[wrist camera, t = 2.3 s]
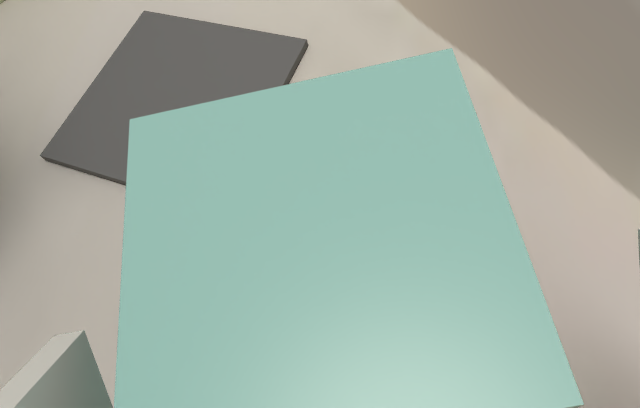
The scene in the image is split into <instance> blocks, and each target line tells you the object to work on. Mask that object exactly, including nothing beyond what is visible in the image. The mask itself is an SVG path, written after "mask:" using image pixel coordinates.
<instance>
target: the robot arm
mask: <svg viewBox="0 0 640 408" xmlns="http://www.w3.org/2000/svg"><path fill="white" fill-rule="evenodd" d="M638 240H639V263H640V229H638ZM0 408H113V407H112V404H111V401H110V399H109V396H108V393H107V391H106V388H105V385H104V382H103V380H102V377H101V374H100V372H99V369H98V366H97V364H96V361H95V358H94V356H93V353H92V350H91V348H90V345H89V342H88V340H87V337H86V334H85V331H84V330H82V331H76V332H71V333H65V334H60V335H54V336H53V337H52V338H51V339H50V340H49V341H48V342H47V343H46V344H45V345H44V346H43V347H42V348H41V349H40V351H39V352H38V353H37V354H36V355H35V356H34V357H33V358H32V359H31V360H30V361H29V362H28V363H27V364H26V365H25V366H24V367H23V368H22V369H21V370H20V371H19V372H18V373H17V374H16V375H15V376H14V377H13V378H12V379H11V380H10V381H9V382H8V383H7V384H6V385H5V386H4V387H3V388H2V389H1V390H0Z"/></svg>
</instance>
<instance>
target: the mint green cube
mask: <svg viewBox="0 0 640 408" xmlns="http://www.w3.org/2000/svg"><path fill="white" fill-rule="evenodd" d="M582 405H584V403H583V401H582V398H581V395H580V392H579V390H578V387H577V384H576V382H575V379H574V376H573V374H572V371H571V368H570V365H569V363H568V360H567V357H566V355H565V352H564V349H563V347H562V344H561V341H560V339H559V336H558V333H557V330H556V328H555V325H554V322H553V320H552V317H551V314H550V312H549V309H548V306H547V303H546V301H545V298H544V295H543V293H542V290H541V287H540V285H539V282H538V279H537V276H536V274H535V271H534V268H533V266H532V263H531V260H530V258H529V255H528V252H527V250H526V247H525V244H524V241H523V239H522V236H521V233H520V231H519V228H518V225H517V223H516V220H515V217H514V214H513V212H512V209H511V206H510V204H509V201H508V198H507V196H506V193H505V190H504V188H503V185H502V182H501V179H500V177H499V174H498V171H497V169H496V166H495V163H494V161H493V158H492V155H491V152H490V150H489V147H488V144H487V142H486V139H485V136H484V134H483V131H482V128H481V125H480V123H479V120H478V117H477V115H476V112H475V109H474V107H473V104H472V101H471V99H470V96H469V93H468V90H467V88H466V85H465V82H464V80H463V77H462V74H461V72H460V69H459V66H458V63H457V61H456V58H455V55H454V53H453V50H452V48H451V49H446V50H442V51H437V52H433V53H428V54H424V55H419V56H414V57H410V58H405V59H401V60H396V61H392V62H387V63H383V64H378V65H374V66H369V67H365V68H360V69H356V70H351V71H346V72H342V73H337V74H333V75H328V76H324V77H319V78H315V79H310V80H306V81H301V82H297V83H292V84H288V85H283V86H278V87H274V88H269V89H265V90H260V91H256V92H251V93H247V94H242V95H238V96H233V97H229V98H224V99H219V100H215V101H210V102H206V103H201V104H197V105H192V106H188V107H183V108H179V109H174V110H170V111H165V112H161V113H156V114H151V115H147V116H142V117H138V118H133V119H130V123H129V142H128V160H127V178H126V197H125V215H124V234H123V252H122V270H121V289H120V307H119V326H118V344H117V362H116V381H115V399H114V408H577V407H580V406H582Z"/></svg>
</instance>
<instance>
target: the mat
mask: <svg viewBox="0 0 640 408" xmlns="http://www.w3.org/2000/svg"><path fill="white" fill-rule="evenodd" d="M307 47H308V43H307V40H306V39H301V38H295V37H289V36H284V35H278V34H272V33H267V32H261V31H255V30H250V29H244V28H239V27H233V26H227V25H222V24H216V23H210V22H205V21H199V20H193V19H188V18H182V17H177V16H171V15H165V14H160V13H154V12H148V11H143V13H142V14H141V16H140V17H139V18H138V20H137V21H136V23H135V24H134V25H133V27H132V28H131V30H130V31H129V32H128V34H127V35H126V36H125V38H124V39H123V41H122V42H121V43H120V45H119V46H118V48H117V49H116V50H115V52H114V53H113V55H112V56H111V57H110V59H109V60H108V62H107V63H106V64H105V66H104V67H103V69H102V70H101V71H100V73H99V74H98V75H97V77H96V78H95V80H94V81H93V82H92V84H91V85H90V87H89V88H88V89H87V91H86V92H85V94H84V95H83V96H82V98H81V99H80V101H79V102H78V103H77V105H76V106H75V108H74V109H73V110H72V112H71V113H70V114H69V116H68V117H67V119H66V120H65V121H64V123H63V124H62V126H61V127H60V128H59V130H58V131H57V133H56V134H55V135H54V137H53V138H52V140H51V141H50V142H49V144H48V145H47V147H46V148H45V149H44V151H43V152H42V153H41V155H40V156H41V157H42V158H43V159H45V160H46V161H50V162H53V163H56V164H59V165H63V166H66V167H69V168H72V169H75V170H79V171H82V172H85V173H88V174H92V175H95V176H98V177H101V178H105V179H108V180H111V181H114V182H117V183H121V184H124V185H126V178H127V160H128V142H129V123H130V119H133V118H138V117H142V116H147V115H151V114H156V113H161V112H165V111H170V110H174V109H179V108H183V107H188V106H192V105H197V104H201V103H206V102H210V101H215V100H219V99H224V98H229V97H233V96H238V95H242V94H247V93H251V92H256V91H260V90H265V89H269V88H274V87H278V86H283V85H288V84H289V82H290V80H291V78H292V76H293V74H294V72H295V70H296V68H297V66H298V64H299V62H300V60H301V59H302V57H303V55H304V53H305V51H306V49H307Z"/></svg>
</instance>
